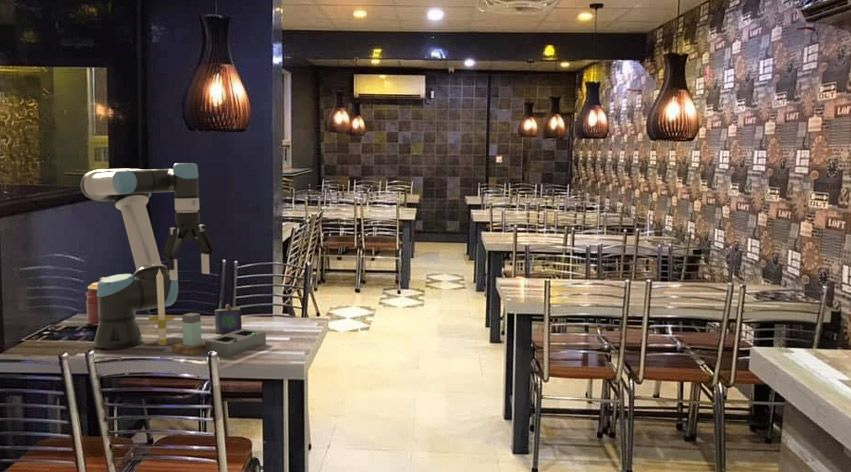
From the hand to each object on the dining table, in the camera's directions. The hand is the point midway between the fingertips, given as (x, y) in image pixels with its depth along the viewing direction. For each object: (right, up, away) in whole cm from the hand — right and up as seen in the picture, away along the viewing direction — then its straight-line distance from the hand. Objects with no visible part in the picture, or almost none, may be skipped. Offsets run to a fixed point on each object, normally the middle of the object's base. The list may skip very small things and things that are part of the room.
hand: (190, 276), depth 240 cm
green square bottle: (0, -24, +3) cm, 25 cm away
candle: (-13, -24, +11) cm, 30 cm away
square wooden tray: (0, -25, +3) cm, 25 cm away
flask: (+5, -22, +29) cm, 37 cm away
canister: (-47, -20, +46) cm, 69 cm away
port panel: (+14, -25, +5) cm, 29 cm away
